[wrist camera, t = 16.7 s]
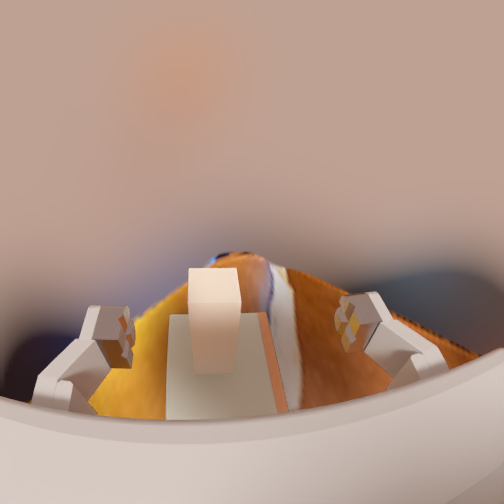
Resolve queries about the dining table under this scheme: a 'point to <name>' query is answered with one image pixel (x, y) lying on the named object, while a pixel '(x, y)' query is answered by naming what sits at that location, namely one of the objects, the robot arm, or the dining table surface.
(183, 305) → the dining table surface
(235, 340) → the cream post
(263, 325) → the mat
